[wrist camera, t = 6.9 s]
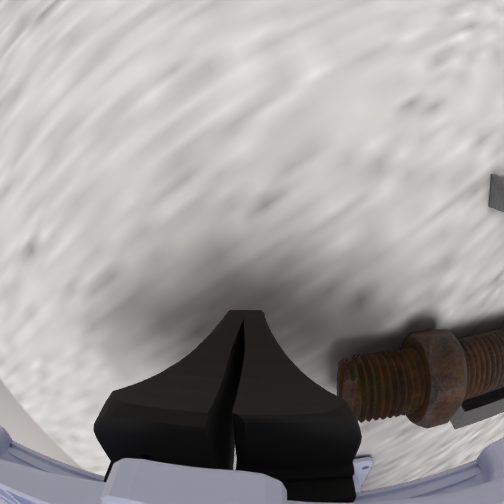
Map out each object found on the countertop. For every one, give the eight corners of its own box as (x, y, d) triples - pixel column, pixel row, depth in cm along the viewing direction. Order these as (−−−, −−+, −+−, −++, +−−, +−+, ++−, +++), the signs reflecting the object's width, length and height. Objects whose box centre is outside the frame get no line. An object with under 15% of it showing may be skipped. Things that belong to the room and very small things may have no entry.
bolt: (329, 331, 16) (531, 299, 14) (330, 419, 15) (530, 370, 13) (351, 343, 10) (588, 292, 8) (348, 468, 9) (584, 380, 7)
